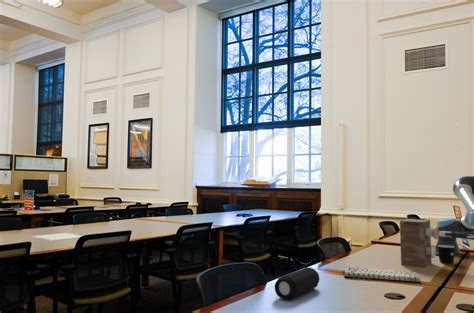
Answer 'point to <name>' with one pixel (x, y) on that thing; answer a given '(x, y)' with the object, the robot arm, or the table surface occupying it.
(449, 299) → the table surface
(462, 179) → the robot arm
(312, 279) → the portable speaker
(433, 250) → the white rounded piece
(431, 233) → the terracotta key
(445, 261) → the mug
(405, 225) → the key console
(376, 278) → the mechanical keyboard
